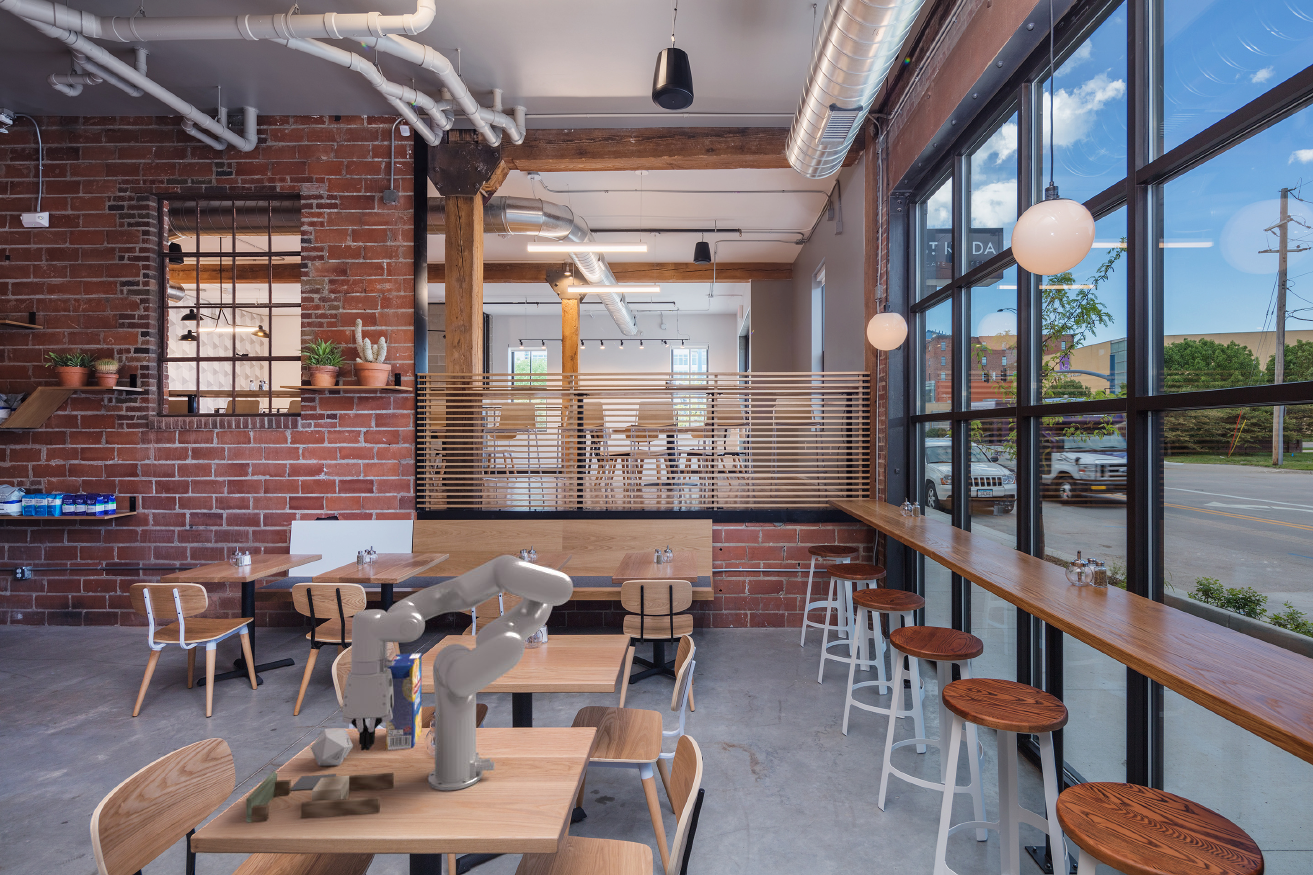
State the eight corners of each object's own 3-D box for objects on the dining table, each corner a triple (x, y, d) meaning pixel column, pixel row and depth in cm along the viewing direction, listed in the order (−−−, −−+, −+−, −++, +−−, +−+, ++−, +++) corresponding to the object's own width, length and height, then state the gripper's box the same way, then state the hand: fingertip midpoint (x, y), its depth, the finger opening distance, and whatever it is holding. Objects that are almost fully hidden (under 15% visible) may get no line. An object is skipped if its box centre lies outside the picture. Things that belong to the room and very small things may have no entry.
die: (324, 777, 160) (351, 738, 164) (296, 756, 162) (324, 718, 165) (339, 774, 168) (365, 737, 171) (313, 754, 170) (339, 718, 173)
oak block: (349, 795, 150) (349, 775, 151) (340, 808, 145) (340, 788, 145) (321, 797, 150) (321, 777, 150) (311, 811, 144) (311, 790, 144)
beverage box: (421, 731, 185) (421, 652, 186) (413, 748, 174) (413, 664, 175) (396, 732, 184) (396, 654, 185) (386, 750, 173) (386, 666, 174)
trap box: (393, 785, 154) (393, 763, 155) (378, 812, 143) (378, 789, 143) (272, 793, 151) (272, 771, 151) (246, 822, 139) (246, 798, 139)
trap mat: (336, 774, 160) (336, 773, 160) (325, 788, 153) (325, 787, 153) (301, 777, 159) (301, 776, 159) (289, 790, 152) (289, 789, 152)
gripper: (407, 659, 154) (405, 739, 153) (340, 661, 152) (338, 742, 151) (398, 669, 146) (396, 753, 145) (328, 671, 144) (325, 756, 143)
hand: (366, 747), depth 148 cm, fingers closed
